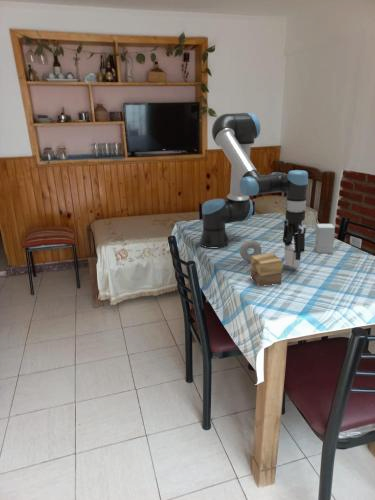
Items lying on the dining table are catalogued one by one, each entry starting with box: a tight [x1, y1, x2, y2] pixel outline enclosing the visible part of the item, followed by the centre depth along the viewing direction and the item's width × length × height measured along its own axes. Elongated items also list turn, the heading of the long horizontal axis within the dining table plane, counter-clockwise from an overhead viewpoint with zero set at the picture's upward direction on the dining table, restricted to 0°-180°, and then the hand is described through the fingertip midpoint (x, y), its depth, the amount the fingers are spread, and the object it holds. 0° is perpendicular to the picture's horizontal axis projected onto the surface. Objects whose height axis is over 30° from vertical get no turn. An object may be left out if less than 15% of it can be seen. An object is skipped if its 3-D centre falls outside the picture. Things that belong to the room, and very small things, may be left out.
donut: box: [239, 239, 263, 262], centre depth 159 cm, size 10×4×10 cm, turn 93°
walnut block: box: [250, 267, 283, 287], centre depth 139 cm, size 9×9×5 cm
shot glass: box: [283, 245, 295, 267], centre depth 147 cm, size 7×7×7 cm
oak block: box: [250, 252, 284, 276], centre depth 137 cm, size 9×9×5 cm
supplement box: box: [314, 223, 336, 254], centre depth 167 cm, size 7×7×13 cm
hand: (291, 262), depth 148 cm, fingers closed on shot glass, 7 cm apart
